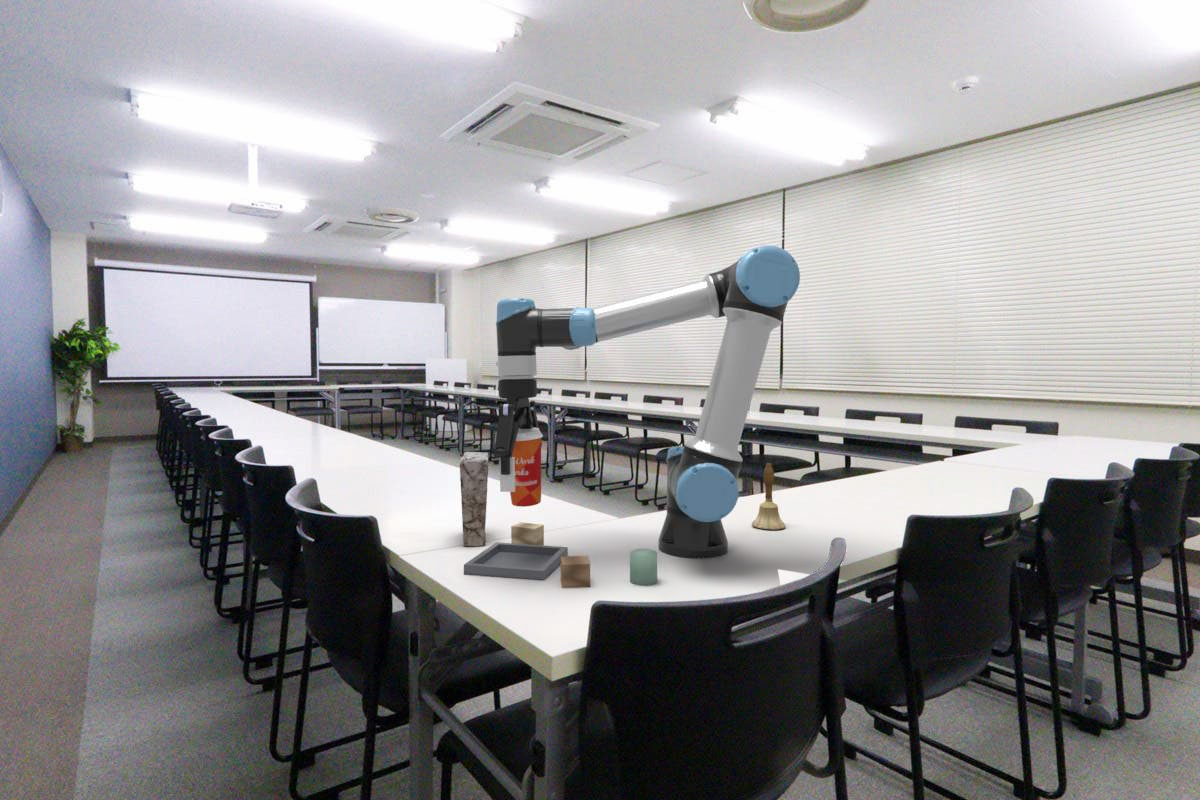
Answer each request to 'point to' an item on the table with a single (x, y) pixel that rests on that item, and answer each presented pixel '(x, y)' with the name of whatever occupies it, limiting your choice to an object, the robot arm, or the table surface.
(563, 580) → the walnut cube
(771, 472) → the hand bell
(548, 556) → the charcoal tray
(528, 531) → the oak block
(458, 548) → the table surface
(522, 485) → the coffee cup
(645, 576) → the green tin
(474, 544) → the stone block
